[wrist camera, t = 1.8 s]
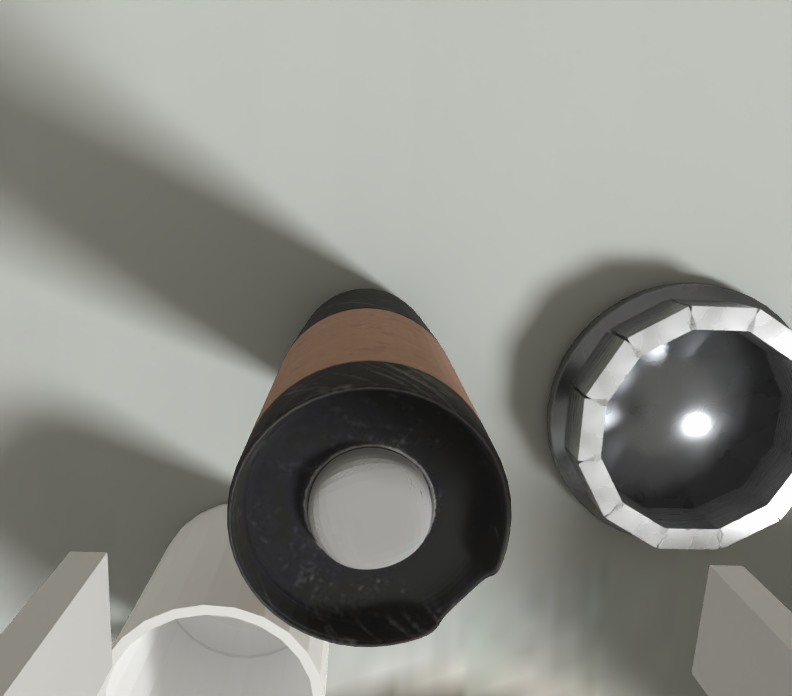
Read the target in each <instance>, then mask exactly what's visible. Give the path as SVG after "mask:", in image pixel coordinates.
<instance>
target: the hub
mask: <svg viewBox="0 0 792 696" xmlns="http://www.w3.org/2000/svg"><path fill="white" fill-rule="evenodd" d="M547 429H548V438H549V444H550V448H551V452H552V456H553V459H554V461H555V464H556V466H557V468H558V471H559V473H560V474H561V476H562V478H563V479H564V481H565V483H566V484H567V486H568V487H569V489H570V490H571V491H572V493H573V494H574V495H575V496H576V498H577V499H578V500H579V501H580V502H581V504H582V505H583V506H584V507H586V508H587V509H588V510H589V511H590V512H591V513H592V514H593V515H595V516H596V517H597V518H599V519H600V520H602V521H603V522H605V523H606V524H608V525H610V526H612V527H614V528H616V529H618V530H620V531H623V532H626V533H629V534H632V535H635V536H636V537H638V538H640V539H641V540H643V541H645V542H646V543H648V544H650V545H651V546H653V547H655V548H656V547H657V548H658V549H714V550H719V546H720V547H721V548H722V549H723V548H725V547H727V546H729V545H731V544H733V543H735V542H737V541H739V540H741V539H743V538H745V537H747V536H749V535H751V534H753V533H755V532H757V531H760V530H762V529H764V528H766V527H768V526H770V525H772V524H774V523H776V522H778V521H779V520H778V518H777V516H778V517H779V518H781V519H782V518H783V516H784V515H785V514H786V513H787V511H788V510H789V509H790V508H791V506H792V331H791V329H790V328H789V327H788V326H787V325H786V324H785V322H784V321H783V320H782V319H781V318H780V317H779V316H778V315H777V314H775V313H774V312H773V311H772V310H770V309H769V308H768V307H767V306H765V305H764V304H762V303H760V302H758V301H757V300H755V299H753V298H752V297H749V296H747V295H744V294H742V293H739V292H737V291H733V290H729V289H725V288H721V287H717V286H713V285H707V284H697V283H678V284H670V285H664V286H658V287H655V288H651V289H648V290H645V291H641V292H639V293H637V294H634V295H632V296H630V297H628V298H625V299H624V300H622V301H620V302H618V303H617V304H615V305H613V306H612V307H610V308H609V309H607V310H606V311H605V312H603V313H602V314H601V315H600V316H598V317H597V318H596V319H595V320H594V321H593V322H592V323H591V324H590V325H589V326H588V327H586V328H585V329H584V330H583V331H582V333H581V334H580V335H579V336H578V338H577V339H576V340H575V342H574V343H573V344H572V345H571V347H570V349H569V350H568V352H567V354H566V355H565V357H564V358H563V360H562V362H561V364H560V367H559V369H558V371H557V373H556V376H555V379H554V382H553V385H552V389H551V392H550V397H549V403H548V411H547Z"/></svg>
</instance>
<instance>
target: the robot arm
mask: <svg viewBox="0 0 792 696" xmlns="http://www.w3.org/2000/svg"><path fill="white" fill-rule="evenodd" d="M111 668H112V645H111V622H110V600H109V577H108V555H107V552H73V551H70V552H69V553H68V555H67V556H66V557H65V558H64V559H63V561H62V562H61V563H60V564H59V565H58V567H57V568H56V569H55V570H54V571H53V573H52V574H51V575H50V576H49V577H48V579H47V580H46V581H45V582H44V583H43V585H42V586H41V587H40V588H39V589H38V591H37V592H36V593H35V594H34V595H33V597H32V598H31V599H30V600H29V601H28V603H27V604H26V605H25V606H24V607H23V609H22V610H21V611H20V612H19V613H18V615H17V616H16V617H15V618H14V619H13V621H12V622H11V623H10V624H9V625H8V627H7V628H6V629H5V630H4V631H3V633H2V634H1V635H0V696H97V694H98V692H99V690H100V689H101V687H102V685H103V683H104V681H105V679H106V677H107V675H108V674H109V672H110V670H111ZM691 673H692V674H693V676H694V677H695V679H696V680H697V681H698V683H699V684H700V686H701V687H702V689H703V690H704V691H705V693H706V694H707V696H792V612H791V611H790V610H789V609H788V608H786V607H785V606H784V605H783V604H782V603H781V602H780V601H779V600H778V599H777V598H776V597H775V596H774V595H773V594H772V593H771V592H770V591H769V590H768V589H767V588H766V587H765V586H763V585H762V584H761V583H760V582H759V581H758V580H757V579H756V578H755V577H754V576H753V575H752V574H751V573H750V572H749V571H748V570H747V569H746V568H745V567H744V566H731V565H710V566H709V572H708V578H707V584H706V590H705V596H704V601H703V607H702V613H701V619H700V625H699V631H698V637H697V643H696V649H695V655H694V661H693V666H692V672H691Z"/></svg>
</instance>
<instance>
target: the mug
mask: <svg viewBox="0 0 792 696" xmlns="http://www.w3.org/2000/svg"><path fill="white" fill-rule="evenodd" d="M328 652H329V642H327V641H323V640H320V639H317V638H314V637H312V636H309V635H307V634H304V633H302V632H300V631H299V630H297V629H295V628H293V627H291V626H289V625H288V624H286V623H285V622H284V621H282V620H281V619H279V618H278V617H277V616H275V615H274V614H273V613H272V612H271V611H270V610H268V609H267V608H266V607H265V606H264V605H263V604H262V603H261V602H260V601H259V599H258V598H257V597H256V596H255V595H254V593H253V592H252V591H251V590H250V588H249V586H248V585H247V583H246V582H245V580H244V578H243V577H242V575H241V573H240V571H239V568H238V566H237V564H236V562H235V559H234V556H233V553H232V549H231V546H230V542H229V535H228V528H227V504H221V505H219V506H216V507H214V508H211V509H209V510H206V511H204V512H202V513H200V514H198V515H197V516H196V517H194V518H193V519H192V520H190V521H189V522H188V523H187V524H185V525H184V526H183V527H182V528H181V529H180V531H179V532H178V533H177V535H176V536H175V537H174V539H173V540H172V541H171V543H170V544H169V546H168V548H167V549H166V551H165V553H164V555H163V557H162V558H161V560H160V562H159V564H158V566H157V567H156V569H155V571H154V573H153V575H152V576H151V578H150V580H149V582H148V583H147V585H146V587H145V589H144V591H143V592H142V594H141V596H140V598H139V600H138V601H137V603H136V605H135V607H134V608H133V610H132V612H131V614H130V616H129V617H128V619H127V621H126V623H125V625H124V626H123V628H122V630H121V632H120V634H119V635H118V637H117V639H116V641H115V642H114V644H113V646H112V668H111V670H110V672H109V674H108V675H107V677H106V679H105V681H104V683H103V685H102V687H101V689H100V690H99V692H98V694H97V696H325V694H326V680H327V666H328Z"/></svg>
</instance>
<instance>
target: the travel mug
mask: <svg viewBox="0 0 792 696" xmlns="http://www.w3.org/2000/svg"><path fill="white" fill-rule="evenodd" d="M510 527H511V497H510V492H509V486H508V481H507V478H506V475H505V472H504V469H503V465H502V463H501V460H500V458H499V456H498V454H497V452H496V450H495V448H494V446H493V444H492V442H491V440H490V438H489V436H488V434H487V432H486V430H485V428H484V426H483V425H482V423H481V421H480V419H479V417H478V415H477V413H476V411H475V409H474V407H473V405H472V403H471V401H470V399H469V398H468V396H467V394H466V392H465V390H464V388H463V386H462V384H461V382H460V380H459V378H458V376H457V374H456V372H455V370H454V369H453V367H452V365H451V363H450V361H449V359H448V357H447V355H446V353H445V351H444V350H443V348H442V347H441V346H440V344H439V343H438V341H437V340H436V338H435V337H434V336H433V334H432V333H431V332H430V330H429V329H428V328H427V326H426V325H425V324H424V322H423V321H422V320H421V318H420V317H419V316H418V315H417V314H416V313H415V311H414V310H413V309H412V308H411V307H410V306H408V305H407V304H406V303H405V302H403V301H402V300H400V299H399V298H397V297H395V296H393V295H391V294H389V293H386V292H383V291H378V290H373V289H358V290H352V291H347V292H344V293H342V294H339V295H337V296H335V297H333V298H331V299H330V300H328V301H327V302H325V303H324V304H323V305H322V306H321V307H320V308H318V309H317V310H316V312H315V313H314V314H313V315H312V316H311V318H310V319H309V320H308V322H307V324H306V325H305V327H304V328H303V330H302V331H301V333H300V334H299V336H298V337H297V339H296V340H295V342H294V343H293V345H292V346H291V348H290V350H289V351H288V353H287V354H286V356H285V358H284V361H283V363H282V365H281V367H280V369H279V372H278V374H277V376H276V378H275V381H274V383H273V385H272V388H271V390H270V392H269V394H268V397H267V399H266V401H265V403H264V406H263V408H262V410H261V412H260V415H259V417H258V419H257V421H256V424H255V426H254V428H253V430H252V433H251V435H250V437H249V440H248V442H247V444H246V446H245V449H244V451H243V453H242V455H241V457H240V460H239V462H238V464H237V466H236V470H235V473H234V476H233V479H232V483H231V486H230V491H229V498H228V504H227V528H228V535H229V542H230V546H231V549H232V553H233V556H234V559H235V562H236V564H237V566H238V568H239V571H240V573H241V575H242V577H243V578H244V580H245V582H246V583H247V585H248V586H249V588H250V590H251V591H252V592H253V593H254V595H255V596H256V597H257V598H258V599H259V601H260V602H261V603H262V604H263V605H264V606H265V607H266V608H267V609H268V610H270V611H271V612H272V613H273V614H274V615H275V616H277V617H278V618H279V619H281V620H282V621H284V622H285V623H286V624H288V625H289V626H291V627H293V628H295V629H297V630H299V631H300V632H302V633H304V634H307V635H309V636H312V637H314V638H317V639H320V640H323V641H327V642H331V643H335V644H340V645H347V646H354V647H378V646H389V645H395V644H400V643H406V642H409V641H413V640H416V639H419V638H422V637H424V636H427V635H428V634H430V633H432V632H433V631H434V630H435V629H436V628H437V626H438V625H439V624H440V622H441V620H442V619H443V618H444V616H445V615H446V614H447V613H448V612H449V611H450V610H451V609H452V608H453V607H454V606H455V605H456V604H457V603H458V602H460V601H461V600H462V599H463V598H464V597H465V596H466V595H467V594H468V593H469V592H470V591H471V590H473V589H474V588H475V587H476V586H477V585H478V584H479V583H481V582H482V581H483V580H484V579H485V578H487V577H489V576H493V575H494V574H496V573H497V572H498V570H499V569H500V567H501V565H502V562H503V560H504V556H505V553H506V550H507V545H508V540H509V535H510Z"/></svg>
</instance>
